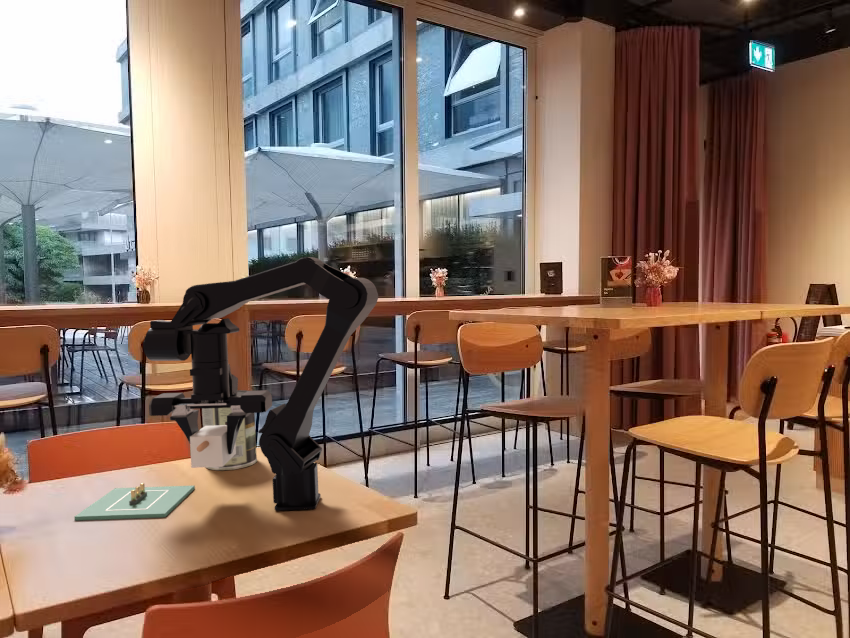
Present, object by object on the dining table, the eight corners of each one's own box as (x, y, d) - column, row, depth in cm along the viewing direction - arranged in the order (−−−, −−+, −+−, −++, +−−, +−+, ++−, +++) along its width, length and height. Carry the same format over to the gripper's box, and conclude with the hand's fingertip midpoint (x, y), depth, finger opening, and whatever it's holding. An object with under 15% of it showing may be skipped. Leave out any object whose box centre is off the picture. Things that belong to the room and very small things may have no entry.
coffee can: (238, 454, 139) (235, 388, 139) (267, 461, 133) (264, 392, 132) (193, 465, 132) (190, 395, 131) (222, 473, 125) (219, 400, 124)
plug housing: (236, 453, 113) (234, 424, 113) (216, 473, 101) (214, 441, 101) (206, 454, 113) (205, 425, 112) (183, 474, 101) (182, 442, 101)
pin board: (194, 488, 116) (194, 473, 116) (165, 517, 102) (164, 499, 102) (115, 491, 116) (114, 475, 116) (74, 520, 102) (73, 502, 102)
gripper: (276, 353, 116) (280, 440, 117) (170, 356, 116) (175, 443, 117) (262, 361, 105) (266, 457, 106) (145, 364, 105) (150, 461, 105)
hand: (214, 454), depth 109 cm, fingers closed on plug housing, 5 cm apart
